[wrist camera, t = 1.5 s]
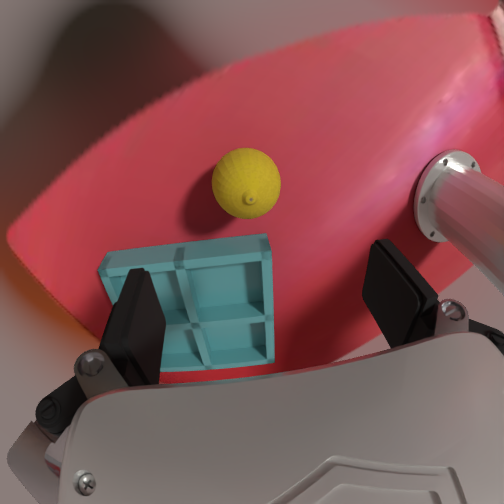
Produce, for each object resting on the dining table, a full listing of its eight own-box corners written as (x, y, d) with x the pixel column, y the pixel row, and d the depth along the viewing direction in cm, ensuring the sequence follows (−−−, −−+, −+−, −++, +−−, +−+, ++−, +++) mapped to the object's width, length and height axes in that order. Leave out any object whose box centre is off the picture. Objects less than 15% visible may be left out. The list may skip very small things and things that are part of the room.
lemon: (252, 205, 28) (263, 246, 21) (202, 180, 26) (196, 214, 19) (282, 159, 26) (305, 186, 19) (232, 130, 24) (236, 145, 17)
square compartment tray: (266, 233, 30) (271, 250, 27) (270, 343, 39) (274, 362, 36) (107, 252, 29) (97, 269, 26) (151, 353, 39) (147, 372, 36)
